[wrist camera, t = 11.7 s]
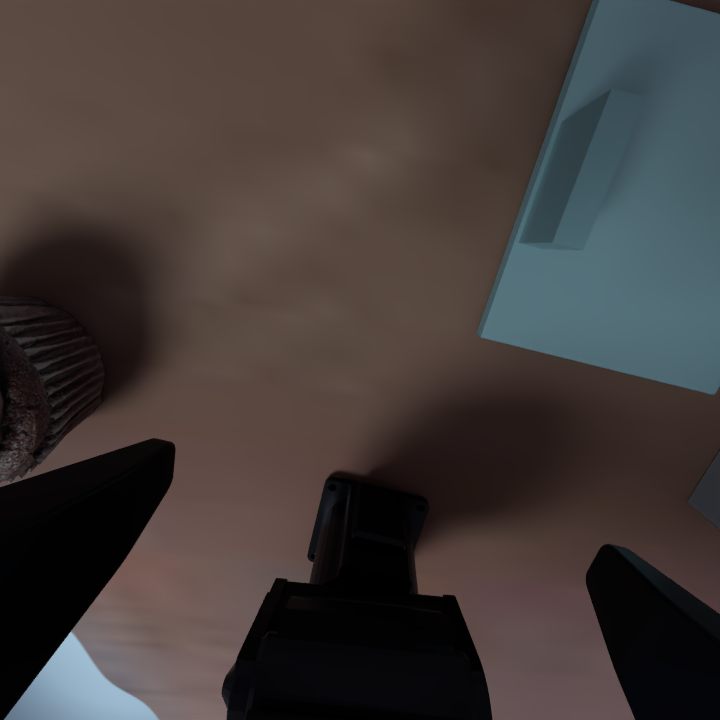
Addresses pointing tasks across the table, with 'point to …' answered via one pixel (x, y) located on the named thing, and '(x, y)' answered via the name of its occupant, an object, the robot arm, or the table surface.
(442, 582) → the table surface
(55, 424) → the cupcake
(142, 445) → the robot arm
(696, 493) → the tub
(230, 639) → the table surface
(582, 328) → the lid
